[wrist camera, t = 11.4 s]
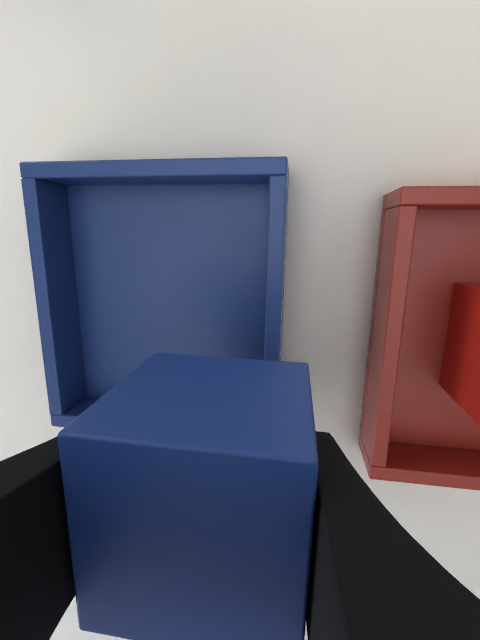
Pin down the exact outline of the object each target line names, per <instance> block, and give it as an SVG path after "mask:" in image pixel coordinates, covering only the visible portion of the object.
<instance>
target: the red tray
mask: <svg viewBox="0 0 480 640" xmlns="http://www.w3.org/2000/svg"><path fill="white" fill-rule="evenodd" d="M456 282H464V283H480V186H403V187H401V188H399V189H397V190H394V191H392V192H390V193H388V194H386V195H384V198H383V208H382V218H381V228H380V238H379V248H378V258H377V268H376V278H375V288H374V298H373V308H372V318H371V328H370V338H369V348H368V358H367V368H366V378H365V388H364V398H363V408H362V418H361V428H360V438H359V446H360V449H361V452H362V455H363V459H364V462H365V465H366V468H367V472H368V475H369V478H370V479H377V480H386V481H396V482H405V483H415V484H424V485H434V486H443V487H453V488H462V489H472V490H480V426H479V425H478V424H477V423H476V422H475V421H474V420H473V419H472V418H471V417H470V416H469V415H468V414H467V413H466V412H465V411H464V410H463V409H462V408H461V407H460V406H459V405H458V404H457V403H456V402H455V401H454V400H453V399H452V398H451V397H450V396H449V395H448V394H447V393H446V392H445V391H444V389H443V388H442V387H441V386H440V385H439V383H440V376H441V370H442V363H443V357H444V350H445V343H446V337H447V330H448V324H449V317H450V310H451V304H452V297H453V291H454V284H455V283H456Z"/></svg>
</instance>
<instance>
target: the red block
mask: <svg viewBox="0 0 480 640" xmlns="http://www.w3.org/2000/svg"><path fill="white" fill-rule="evenodd" d="M439 385H440V386H441V387H442V388H443V389H444V391H445V392H446V393H447V394H448V395H449V396H450V397H451V398H452V399H453V400H454V401H455V402H456V403H457V404H458V405H459V406H460V407H461V408H462V409H463V410H464V411H465V412H466V413H467V414H468V415H469V416H470V417H471V418H472V419H473V420H474V421H475V422H476V423H477V424H478V425H479V426H480V283H464V282H456V283H455V284H454V291H453V297H452V304H451V310H450V317H449V324H448V330H447V337H446V343H445V350H444V357H443V363H442V370H441V376H440V383H439Z"/></svg>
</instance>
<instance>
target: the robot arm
mask: <svg viewBox="0 0 480 640" xmlns="http://www.w3.org/2000/svg"><path fill="white" fill-rule="evenodd" d="M315 433H316V442H317V452H318V462H319V465H318V477H317V489H316V502H315V514H314V526H313V538H312V551H311V563H310V575H309V588H308V600H307V612H306V625H307V635H308V640H480V599H479V598H477V597H476V596H475V595H474V594H473V593H472V592H470V591H469V590H468V589H467V588H466V587H465V586H463V585H462V584H461V583H460V582H459V581H458V580H457V579H456V578H455V577H453V576H452V575H451V574H450V573H449V572H448V571H447V570H446V569H445V568H444V567H442V566H441V565H440V564H439V563H438V562H437V561H436V560H435V559H434V558H433V557H432V556H431V555H430V554H429V553H428V552H427V551H426V550H425V549H424V548H423V547H422V546H421V545H420V544H419V543H418V542H417V541H416V540H415V539H414V538H413V537H412V536H411V535H410V534H409V533H408V532H407V531H406V530H405V529H404V528H403V527H402V526H401V525H400V524H399V522H398V521H397V520H396V519H395V518H394V517H393V516H392V515H391V513H390V512H389V511H388V510H387V509H386V508H385V507H384V505H383V504H382V503H381V502H380V501H379V499H378V498H377V497H376V496H375V495H374V493H373V492H372V491H371V489H370V488H369V487H368V486H367V484H366V483H365V482H364V481H363V479H362V478H361V477H360V475H359V474H358V473H357V471H356V470H355V469H354V467H353V466H352V465H351V463H350V462H349V460H348V459H347V458H346V456H345V455H344V453H343V452H342V450H341V449H340V447H339V446H338V444H337V443H336V441H335V440H334V438H333V437H332V436H331V434H330V433H327V432H316V431H315ZM74 596H75V586H74V577H73V569H72V560H71V551H70V542H69V533H68V525H67V516H66V507H65V498H64V490H63V481H62V472H61V463H60V454H59V446H58V437H55V438H53V439H51V440H49V441H46V442H44V443H42V444H40V445H38V446H35V447H33V448H31V449H28V450H26V451H24V452H21V453H19V454H17V455H14V456H12V457H9V458H7V459H5V460H2V461H0V640H49V639H50V637H51V635H52V634H53V632H54V630H55V628H56V627H57V625H58V623H59V621H60V620H61V618H62V616H63V614H64V613H65V611H66V609H67V608H68V606H69V604H70V603H71V601H72V600H73V598H74Z"/></svg>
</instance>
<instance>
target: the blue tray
mask: <svg viewBox="0 0 480 640" xmlns="http://www.w3.org/2000/svg"><path fill="white" fill-rule="evenodd" d="M20 171H21V177H22V178H23V179H21V182H22V190H23V198H24V206H25V214H26V222H27V230H28V239H29V247H30V255H31V263H32V271H33V279H34V287H35V295H36V304H37V312H38V320H39V328H40V336H41V344H42V352H43V361H44V369H45V377H46V385H47V393H48V401H49V409H50V414H51V424H52V426H58V427H66V426H67V425H68V424H70V423H71V422H72V421H73V420H74V419H76V418H77V417H78V416H79V415H80V414H82V413H83V412H84V411H85V410H86V409H88V408H89V407H90V406H91V405H92V404H94V403H95V402H96V401H97V400H98V399H100V398H101V397H102V396H103V395H104V394H106V393H107V392H108V391H109V390H110V389H112V388H113V387H114V386H115V385H116V384H118V383H119V382H120V381H121V380H122V379H124V378H125V377H126V376H127V375H128V374H130V373H131V372H132V371H133V370H134V369H136V368H137V367H138V366H139V365H140V364H142V363H143V362H144V361H145V360H146V359H148V358H149V357H150V356H151V355H152V354H154V353H169V354H183V355H197V356H212V357H226V358H240V359H255V360H269V361H281V347H282V322H283V298H284V273H285V248H286V224H287V199H288V174H289V169H288V159H287V157H240V158H190V159H141V160H92V161H43V162H20Z"/></svg>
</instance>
